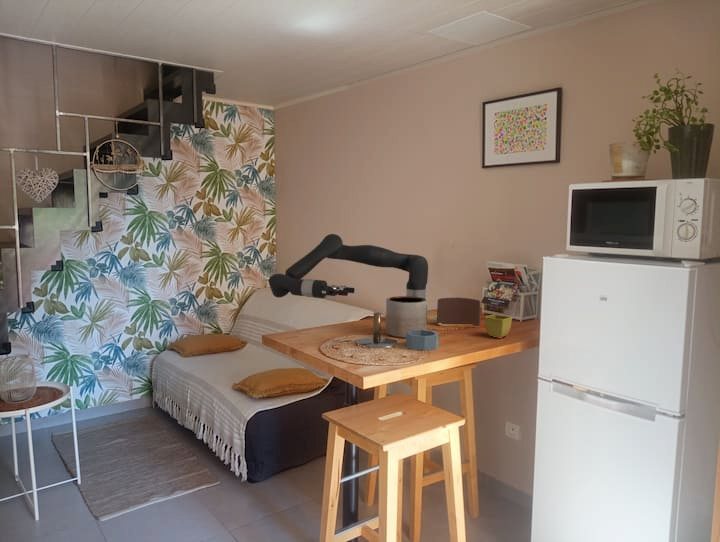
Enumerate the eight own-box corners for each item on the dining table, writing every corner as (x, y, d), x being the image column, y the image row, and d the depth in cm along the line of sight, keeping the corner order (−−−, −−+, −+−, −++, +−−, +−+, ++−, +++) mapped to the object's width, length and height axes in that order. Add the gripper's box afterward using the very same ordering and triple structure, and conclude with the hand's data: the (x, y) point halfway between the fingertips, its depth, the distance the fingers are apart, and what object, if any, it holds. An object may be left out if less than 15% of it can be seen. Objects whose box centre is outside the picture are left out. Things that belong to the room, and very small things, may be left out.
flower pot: (512, 337, 237) (512, 316, 236) (502, 340, 230) (503, 319, 229) (493, 334, 243) (494, 314, 242) (483, 337, 236) (484, 316, 235)
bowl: (427, 341, 227) (428, 328, 226) (443, 348, 215) (443, 335, 215) (401, 344, 222) (401, 331, 221) (416, 351, 211) (416, 337, 210)
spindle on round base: (386, 337, 234) (387, 308, 233) (404, 347, 218) (405, 315, 217) (349, 340, 228) (350, 310, 226) (365, 350, 212) (366, 318, 211)
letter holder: (479, 328, 254) (480, 298, 253) (436, 326, 258) (437, 297, 257) (479, 324, 264) (480, 295, 262) (437, 322, 268) (438, 293, 266)
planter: (402, 340, 228) (402, 303, 226) (377, 332, 243) (378, 297, 241) (434, 335, 238) (435, 300, 236) (408, 328, 253) (409, 294, 251)
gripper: (308, 281, 221) (345, 284, 217) (320, 278, 235) (356, 280, 230) (307, 299, 222) (345, 303, 217) (320, 295, 236) (356, 298, 231)
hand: (351, 291), depth 224 cm, fingers open, 8 cm apart
